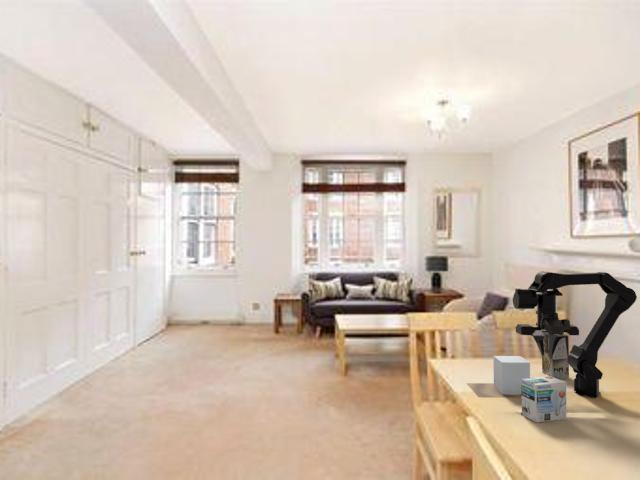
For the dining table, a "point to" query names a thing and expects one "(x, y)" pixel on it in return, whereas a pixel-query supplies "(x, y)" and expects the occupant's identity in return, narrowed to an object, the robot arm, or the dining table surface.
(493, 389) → the podium board
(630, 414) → the dining table surface
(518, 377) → the carton
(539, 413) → the light bulb box
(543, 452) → the dining table surface
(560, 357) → the coffee box
